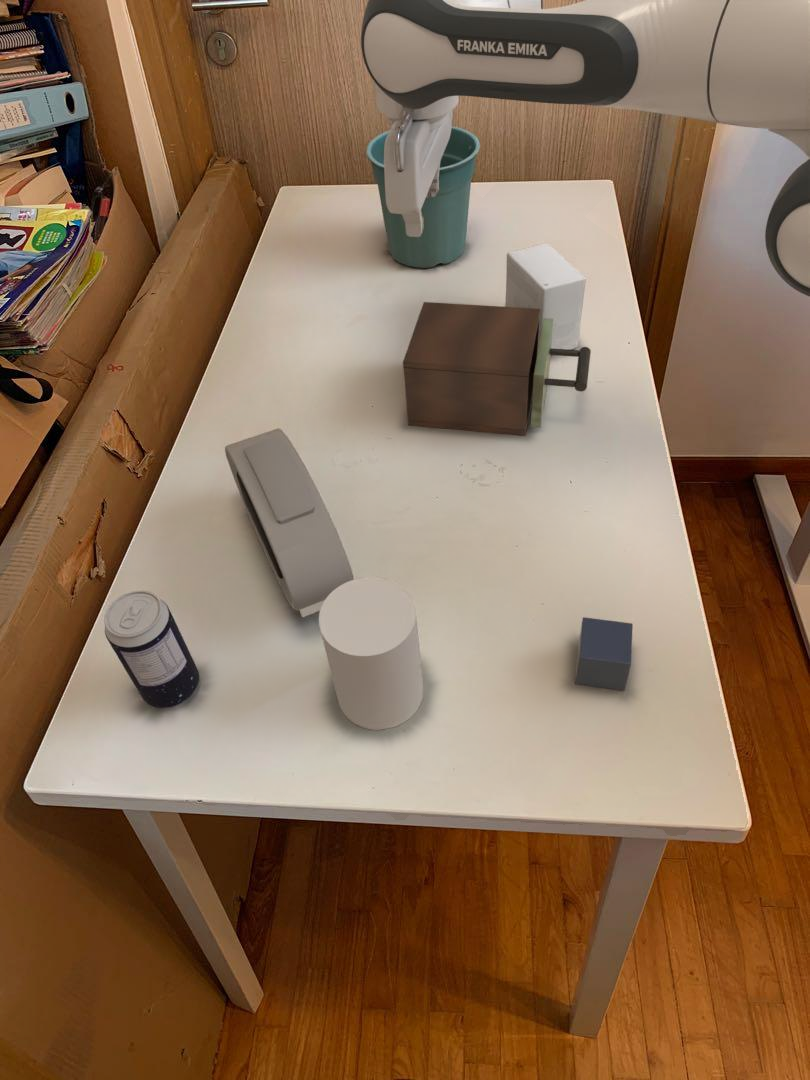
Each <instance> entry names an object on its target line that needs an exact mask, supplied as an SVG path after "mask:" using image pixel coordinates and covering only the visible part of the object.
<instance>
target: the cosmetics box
mask: <svg viewBox="0 0 810 1080" xmlns="http://www.w3.org/2000/svg"><path fill="white" fill-rule="evenodd" d="M505 277H506V279H505V303H504V305H505V306H504V307H518V308H535V309H540V323H539V339H538V347H539V342H540V336H541V330H542V325H543V319H544V318H550V319H553V332H552V345H551V348H553V349H568V350H575V349H577V348H578V347H579V340H580V331H581V321H582V315H583V305H584V299H585V291H586V282H587V278H586V277H585V276H584V275H583V274H582V273H581V272H579V271H578V270H577V268H575V266H573V265H572V264H571V263H570V262H568V260H566V258H564V257H563V256H562V255H561V254H560V253H559V252H558V251H557V250H555V248H554V247H552V246H551V245H550V244H549V243H548V242H546V243H541V244H538V245H537V244H536V245H533V246H528V247H526V248H521V249H517V250H513V251H508V252H507V254H506V276H505Z"/></svg>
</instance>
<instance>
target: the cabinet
mask: <svg viewBox="0 0 810 1080" xmlns="http://www.w3.org/2000/svg"><path fill="white" fill-rule="evenodd" d="M539 323H540V309H535V308H518V307H505V306H499V305H483V304H482V305H481V304H464V303H448V302H431V301H424V302H423V303H422V306H421V309H420V313H419V315H418V318H417V321H416V323H415V326H414V329H413V331H412V334H411V337H410V340H409V344H408V347H407V350H406V352H405V355H404V358H403V361H402V366H403V367H402V368H403V369H402V371H403V380H404V392H405V402H406V403H405V405H406V416H407V425H408V426H412V427H424V428H435V429H447V430H459V431H470V432H480V433H481V432H482V433H492V434H502V435H503V434H504V435H516V436H526V435H527V428H528V424H529V419H530V413H531V407H532V394H533V378H534V370H535V364H536V359H537V353H538V339H539Z"/></svg>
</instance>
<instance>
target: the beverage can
mask: <svg viewBox="0 0 810 1080" xmlns="http://www.w3.org/2000/svg"><path fill="white" fill-rule="evenodd" d="M103 623H104V634H105V635H104V636H105V638H106V640H107V641H108V643H109V644H110V647H111V648H112V650H113V651H114V653H115V655H116V656H117V658H118V660H119V661H120V664H121V665H122V667H123V668H124V670H125V671H126V673H127V675H128V677H129V678H130V680H131V682H132V683H133V685H134V687H135V689H136V690H137V692H138V694H139V695H140V697H141V699H142V700H143V702H144V703H146V704H148V705H149V706H150V707H153V708H156V709H157V708H158V709H169V708H173V707H176V706H178V705H181V704H182V703H184V702H186V701H187V700H188V699H189V698H190V697H191V696H192V695H193V694H194V692H195V691H196V689H197V687H198V685H199V683H200V682H199V681H200V672H199V669H198V667H197V665H196V663H195V661H194V658H193V656H192V654H191V652H190V650H189V648H188V646H187V644H186V642H185V639H184V637H183V635H182V633H181V631H180V629H179V626H178V624H177V622H176V620H175V619H174V616H173V614H172V612H171V610H170V607H169V606H168V604H167V603H166V602H165V601H164V600H162V599H161V598H159V597H158V596H157V595H155V594H154V593H153V592H150V591H148V590H134V591H130V592H127V593H124V594H123V595H120V596H119V597H117V598H116V599H115V600H113V601H112V602H111V604H110V605H108V607H107V609H106V611H105V614H104V618H103Z"/></svg>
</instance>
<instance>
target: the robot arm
mask: <svg viewBox="0 0 810 1080" xmlns="http://www.w3.org/2000/svg"><path fill="white" fill-rule="evenodd" d="M362 17H363V18H362V23H361V32H360V46H361V53H362V58H363V59H362V60H363V61H364V65H365V67H366V70H367V72H368V74H369V76H370V77H371V79H372V80H373V88H374V97H375V109H376V110H377V111H378V113H379V114H380V115H382V116H384V117H385V118H388V123H389V125H390V127H391V128H390V129H389V130H390V131H389V130H388V131H389V133H388V135H387V138H386V141H385V146H384V175H385V196H386V205H387V208H388V210H389V212H390V213H394V214H402V216H403V218H404V221H405V226H406V234H407V235H408V236H409V237H420V236H421V234H422V232H423V229H424V225H423V216H422V215H421V208H422V206H423V203H424V201H425V198H426V197H435V196H436V194H437V192H438V190H439V179H438V177H439V170H440V161H441V158H442V156H443V153H444V151H445V148H446V146H447V143H448V141H449V139H450V134H451V128H452V126H453V117H454V109H456V107H457V106H458V104H459V100H460V97H472V98H473V97H475V98H484V99H495V100H508V101H518V102H519V101H520V102H528V103H529V102H530V103H541V104H556V105H579V106H594V107H600V108H610V109H619V110H620V109H622V110H633V111H640V112H647V113H654V114H660V115H666V116H667V115H668V116H672V117H673V116H674V117H680V118H686V119H691V120H699V121H704V122H710V123H716V124H722V125H728V126H734V127H735V126H736V127H743V128H750V129H751V128H752V129H753V128H754V129H762V130H763V129H764V130H768V132H771V133H773V134H777V135H778V136H781V137H782V138H785V139H786V140H788V141H789V142H791V143H793V144H794V145H795V146H796V147H798V148H799V149H800V150H801V151H802V153H804V155H805V156H807V157H808V158H807V159H806V161H804V162H803V163H801V165H800V166H798V167H797V168H795V170H794V171H793V172H792V173H791V174H790V175H789V176H788V178H787V180H786V181H785V183H784V184H783V185H782V187H781V189H780V190H779V191H778V193H777V196H776V198H775V200H774V201H773V204H772V205H771V209H770V210H769V214H768V216H767V221H766V226H765V233H764V237H765V238H764V241H765V248H766V252H767V256H768V259H769V261H770V263H771V265H772V267H773V268H774V271H776V273H777V275H778V276H779V277H780V278H781V280H783V281H784V282H785V283H786V284H787V285H788V286H789V287H791V288H792V289H794V290H795V291H797V292H798V293H801V294H803V295H805V296H807V297H810V0H582V1H579V2H575V3H571V4H568V5H564V6H558V7H552V8H551V7H550V8H544V1H543V0H366V6H365V9H364V14H363V16H362Z"/></svg>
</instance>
